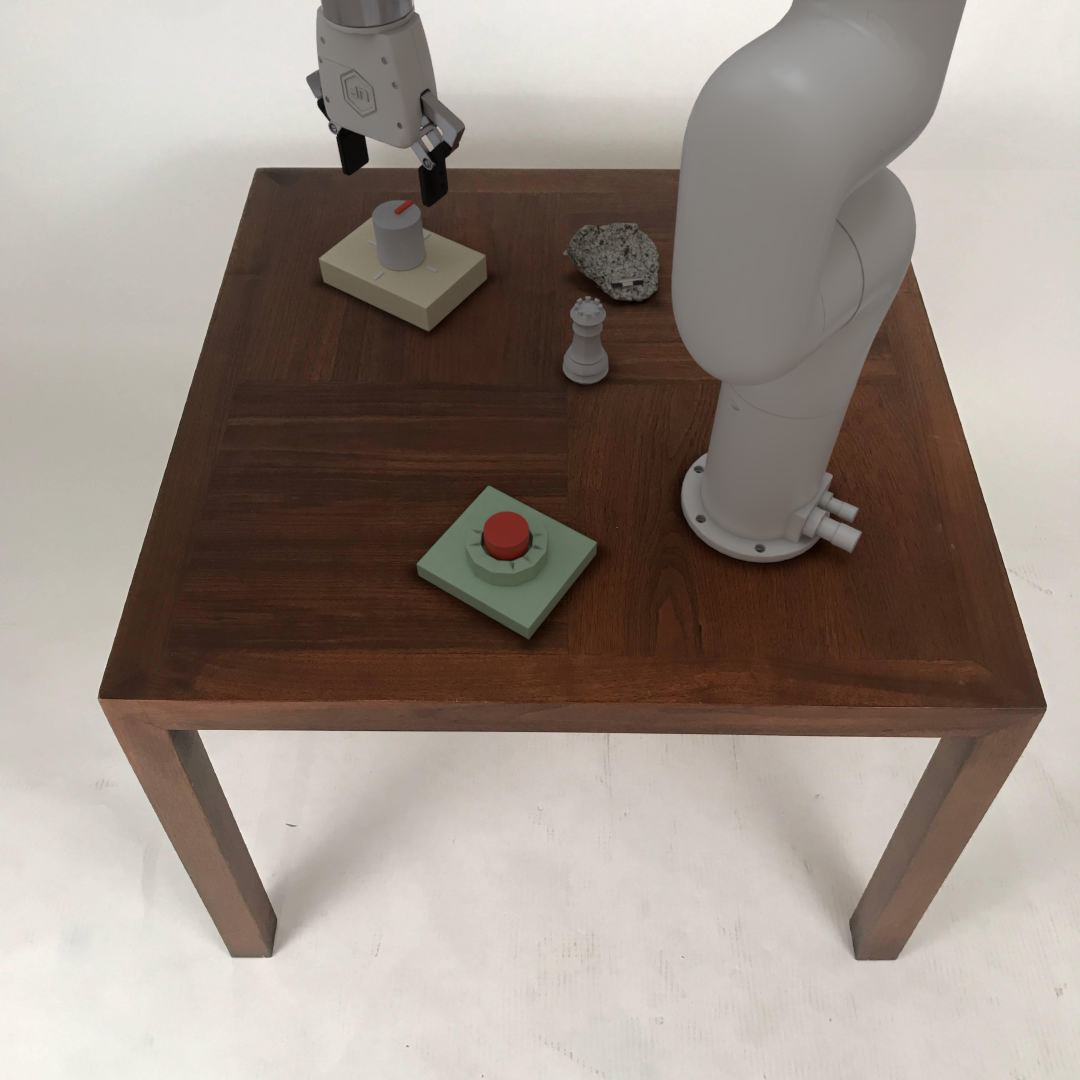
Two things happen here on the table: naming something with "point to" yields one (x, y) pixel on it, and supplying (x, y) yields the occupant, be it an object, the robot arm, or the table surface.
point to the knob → (399, 235)
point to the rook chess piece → (586, 343)
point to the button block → (507, 564)
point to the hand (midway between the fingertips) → (395, 183)
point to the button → (506, 535)
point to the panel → (405, 276)
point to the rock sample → (617, 259)
